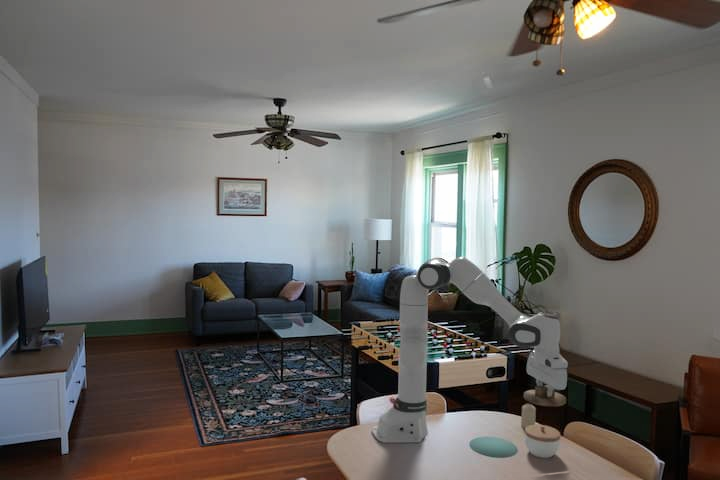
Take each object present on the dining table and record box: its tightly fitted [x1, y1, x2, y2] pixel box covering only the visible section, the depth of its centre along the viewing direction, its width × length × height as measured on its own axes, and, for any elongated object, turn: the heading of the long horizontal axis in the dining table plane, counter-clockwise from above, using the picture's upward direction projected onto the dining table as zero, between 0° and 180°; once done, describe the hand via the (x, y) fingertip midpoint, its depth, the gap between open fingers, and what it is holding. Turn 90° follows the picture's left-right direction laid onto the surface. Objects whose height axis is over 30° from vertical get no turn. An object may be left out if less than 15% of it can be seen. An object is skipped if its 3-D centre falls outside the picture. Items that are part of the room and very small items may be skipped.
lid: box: [523, 384, 567, 408], centre depth 207 cm, size 15×15×4 cm
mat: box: [469, 436, 519, 459], centre depth 213 cm, size 18×18×1 cm
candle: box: [520, 403, 537, 429], centre depth 233 cm, size 6×6×10 cm
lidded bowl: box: [524, 424, 561, 459], centre depth 209 cm, size 13×13×11 cm
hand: (544, 393), depth 207 cm, fingers closed on lid, 3 cm apart
